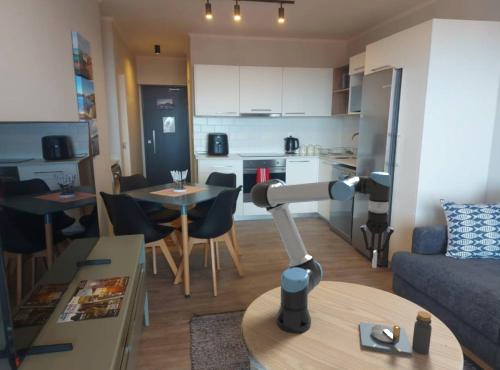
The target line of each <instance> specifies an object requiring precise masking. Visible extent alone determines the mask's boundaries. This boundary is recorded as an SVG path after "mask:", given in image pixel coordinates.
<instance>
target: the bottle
mask: <svg viewBox="0 0 500 370" xmlns="http://www.w3.org/2000/svg"><path fill="white" fill-rule="evenodd" d="M416 313H417V315H416V317H415V319H416V321H415V322H414V327H413V334H412V335H413V336H412V345H411V350H413V351H414V352H415V353H417V354H420V355H428V354H429V353H430V345H431V339H432V338H431V337H432V325H431V324H432V319H431V318H432V314H431V313H429V312H427V311H425V310H424V311H423V310H420V311H417V312H416Z"/></svg>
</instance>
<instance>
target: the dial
mask: <svg viewBox="0 0 500 370" xmlns="http://www.w3.org/2000/svg"><path fill="white" fill-rule="evenodd" d="M388 326H389V325H385V326H384V324H378V325H375V326H373V327H372V328H371V335H372V337H373V338H374V339H376V340H378V341H380V342H382V343H389V344H390V343H398V342H399V338H400V328H401V326H399V325H393V326H392V327H393V329H392V328H390V327H388Z"/></svg>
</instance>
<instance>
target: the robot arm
mask: <svg viewBox="0 0 500 370" xmlns="http://www.w3.org/2000/svg"><path fill="white" fill-rule="evenodd" d="M390 193H391V174H390V173H389V172H383V171H372V172H371V173H370V175H369V176H363V175H362V176H361V175H352V174H342V175H341V176H340V177H339V179H338V180H329V181H328V180H327V181H317V182H308V183H307V182H306V183H299V184H298V183H296V184H287V183H286V182H285V181H283V180H281V179H280V178H279V179H278V178H271V179H268V180H264V181H261V182H257V183H255V185H253V187H252V188H251V190H250V194H249V195H250V200H251V202H252V204H253V205H254V206H255V207H258V208H261V209H266V212H267V213H270V214H271V217H272V218H273V220H274V224H275V225H276V228H277V230H278V233H279V235H280V238H281V240H282V243H283V245H284V248H285V250H286V252H287V255H288V257H289V260H290V261H289V268H286V269H285V270H284V271H283V272H282V274H281V277H280V305H279V307H278V312H277V314H276V318H275V319H276V320H275V322H276V326H278V328H280V329H281V330H283V331H284V332H287V333H292V334H300V333H304V332H306V331H308V330H309V329H310V328H311V326H312V319H311V314H310V312H309V308H308V304H309V303H308V302H309V299H308V298H309V295H310V294H311V292H312V291H313V290H314V289H315V288H316V287H317V286H318V285H319V284H320V283H321V281H322V279H323V273H324V272H323V268H322V266H321V264H320V263H319V262H318V261H316V260H314V258H313V256H312V255H310V254H308V252H307V251H308V250H307V249H306V247H305V244H304V242H303V239H302V236H301V235H300V232H299V230H298V227H297V224H296V222H295V220H294V218H293V215H292V213H291V210H290V207H289V206H290V205H289V204H296V203H298V204H299V203H310V202H312V203H313V202H323V201H324V202H325V201H338V202H346V201H349V200H351V199H352V198H353V197H354V196H357V195H360V196H361V195H362V196H368V207H367V209H368V210H367V220H366V222H365V224H363V225H360V227H359V228H360V230H361V232H362V235H363V240H364V245H365V250H366V251H369V258H370V260H371V267H372V268H373V269H377V267H378V266H377V265H378V264H377V262H378V260H379V261H380V260H381V253H382V252H384V253H385V252H386V249H387V247H388V244H389V241H390V238H391V236H392V235H393V233H394V232H395V230H394V228H393V227H390V226H389V223H388V219H389V213H388V211H389V208H390V207H389V204H390ZM367 229H368V231H369V232H370V246H369V240H368V236H367V235H368V234H367ZM385 231H386V234H385V237H384V239H383V243H382V237H383V234H384V233H385ZM376 234H377V239H376ZM375 239H376V240H377V242H376V249H375Z"/></svg>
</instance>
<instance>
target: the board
mask: <svg viewBox="0 0 500 370" xmlns="http://www.w3.org/2000/svg"><path fill="white" fill-rule="evenodd" d="M375 325H379V324H378V323H370V322H363V321H359V334H360V335H359V336H360V343H361V344H360V346H361V349H364V350H371V351H375V352H376V351H377V352H383V353H388V354H393V355H394V354H395V355H400V356H407V357H413V352H412V346H411V344H410V341H409V338H408V336H407V332H406V328H404V327H400V338H399V342H398V343H390V344H389V343H382V342H380V341H378V340H376V339H374V338H373V337H372V335H371V328H372V327H373V326H375ZM383 325H384V324H383ZM384 326H386V325H384ZM387 326H388V327H390V328H392V329H393V327H394V326H390V325H387Z"/></svg>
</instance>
